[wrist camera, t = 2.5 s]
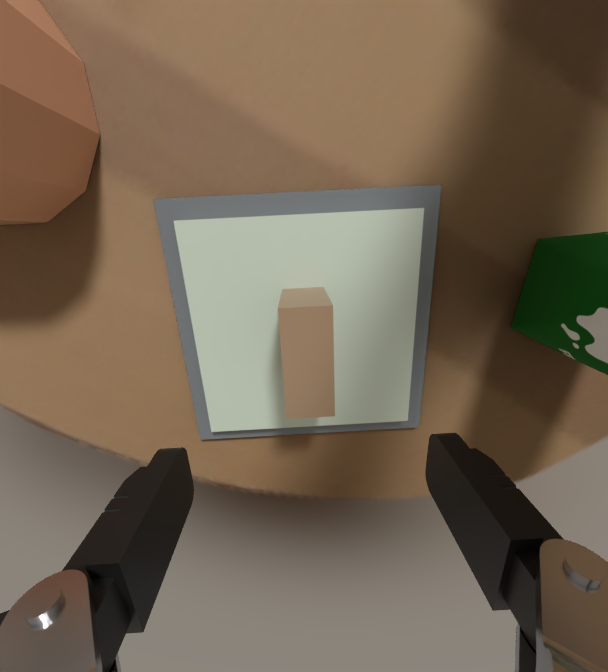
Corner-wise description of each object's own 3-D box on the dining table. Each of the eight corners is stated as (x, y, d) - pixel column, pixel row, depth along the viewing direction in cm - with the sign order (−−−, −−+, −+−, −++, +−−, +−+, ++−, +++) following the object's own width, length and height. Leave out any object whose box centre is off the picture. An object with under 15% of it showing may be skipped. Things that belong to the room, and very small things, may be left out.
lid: (418, 209, 21) (474, 197, 14) (403, 414, 27) (439, 473, 20) (178, 221, 21) (124, 215, 14) (214, 424, 26) (187, 488, 20)
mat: (437, 185, 21) (441, 184, 21) (416, 423, 28) (419, 427, 27) (157, 200, 21) (153, 199, 20) (202, 435, 27) (200, 439, 27)
